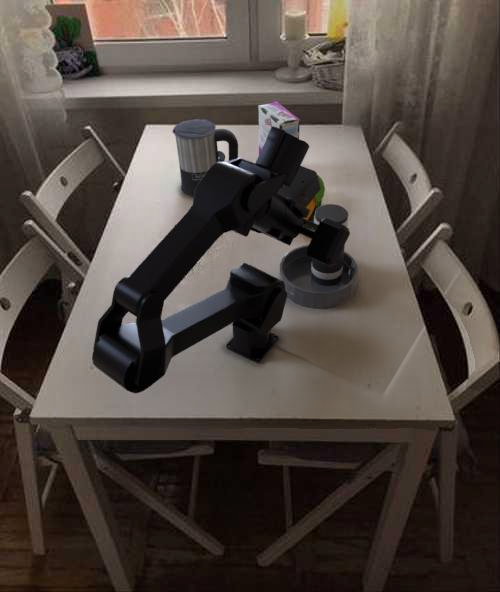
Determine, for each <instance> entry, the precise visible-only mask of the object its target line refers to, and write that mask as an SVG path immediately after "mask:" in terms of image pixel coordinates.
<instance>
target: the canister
mask: <svg viewBox="0 0 500 592" xmlns="http://www.w3.org/2000/svg"><path fill="white" fill-rule="evenodd" d="M314 213H315V216H314V223H315V224H318V225H319V223H320V221H321V220H323V219H324V218H328V219H330V220H333V221H335V222H337V223H340V224H342V225H345V226H346V227H347V228H348V221H349V212H348V210H347V209H346V208H345V207H343V206H342V205H339V204H335V203H334V204H333V203H327V204H323V205H322V204H321V206H320V207H318V208H317V209H316V208H315V211H314ZM313 231H314V230H313ZM314 232H315V231H314ZM345 249H346V244H345V245H344V247H343V249H342V251H341V253H340V255H339V257H338V259H337V261H336V263H335V265H333V266H328V265H326V264H323V263H321V262H319V261H317V260H315V259H313V258H312V267H311V270H312V272H311V277H312V279H313V280H314V281H315V282H316V283H318V284H320V285H324V286H330V285H335V284H337V283H338V282H339V281H340V280H341V277H342V270H343V258H344V251H345Z"/></svg>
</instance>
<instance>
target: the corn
mask: <svg viewBox="0 0 500 592" xmlns="http://www.w3.org/2000/svg"><path fill="white" fill-rule="evenodd" d="M317 176H318V179H319V182H320V186H321V189H320V191H319V192H318V193H317V194H316V195H315V197H314V198H313V199H312V201H311V202H310V204H309V205H308V206H307V207H306V208H308V209H309V210H310V212H309V214H308V216H307V218H305V217H304V219H306V220H308V221H309V219H310V217H311V216H312V214H313V216H312V218H311V220H310V221H311V222H313V223H314V216H315V212H314V210H316V209H317V208H318V207H320V206H322V202H323V198H324V196H325V191H326V187H325V183H324V181H323V179H322V177H320V175H318V174H317ZM313 212H314V213H313ZM307 229H309V230H311V229H310V228H308V227H307Z"/></svg>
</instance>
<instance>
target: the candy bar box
mask: <svg viewBox="0 0 500 592" xmlns="http://www.w3.org/2000/svg"><path fill="white" fill-rule="evenodd" d="M257 106H258V108H257V109H258V111H257V112H258V155H259V154H260V152H261V150H262V148H263V146H264V144H265V142H266V139H267V136H268V133H269V131H270V129H271V127H272V126H274V127H277V128H280V129H283V130H285V131H286V132H287V133H288V134H291V135H293V136H294V137H296V138H298V139H300V126H301V125H300V124H301V123H300V122H301V119H300V118H299V117H297V116H296V115H294V113H292V112H290V111H289V110H288V109H287V108H286V107H284V106H283V105H281V103H279V102H278V101H273V102H268V103H263V104H259V105H257Z"/></svg>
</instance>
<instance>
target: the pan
mask: <svg viewBox="0 0 500 592" xmlns="http://www.w3.org/2000/svg"><path fill="white" fill-rule="evenodd" d="M308 246H309V244H305V245H301V246H298V247H295V248H293V249H291V250H290V251H287V252H286V253H285V255H284V256H283V257H282V258H281V260H280V263H279V279H280V280H282V281H284V283H285V291H286V292H287V299H289V300H290V301H291V302H293V303H294V304H297V305H300V306H302V307H305V308H310V309H329V308H334V307H338V306H341V305H343V304H344V303H346V302H347V301H348V300H350V299H351V298H352V297H353V295H354V294H355V293H356V289H357V284H358V275H359V267H358V263H357V261H356V260H355V258H353V256H351V255H350V254H349V252H347V251H346V250H344V258H343V270H342V277H341V280H340V281H339V282H338V283H337V284H335V285H330V286H324V285H320V284H318V283H316V282H315V281H314V280H313V279H312V277H311V272H312V270H311V267H312V258H311V257H309V256H307V248H308Z"/></svg>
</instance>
